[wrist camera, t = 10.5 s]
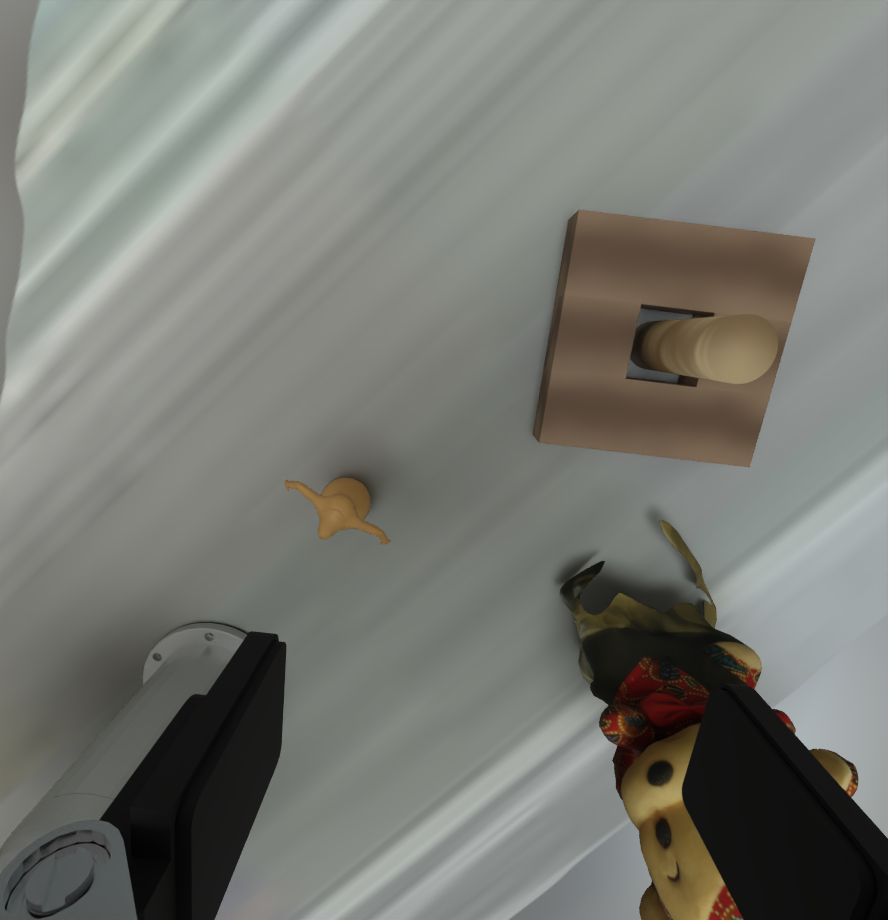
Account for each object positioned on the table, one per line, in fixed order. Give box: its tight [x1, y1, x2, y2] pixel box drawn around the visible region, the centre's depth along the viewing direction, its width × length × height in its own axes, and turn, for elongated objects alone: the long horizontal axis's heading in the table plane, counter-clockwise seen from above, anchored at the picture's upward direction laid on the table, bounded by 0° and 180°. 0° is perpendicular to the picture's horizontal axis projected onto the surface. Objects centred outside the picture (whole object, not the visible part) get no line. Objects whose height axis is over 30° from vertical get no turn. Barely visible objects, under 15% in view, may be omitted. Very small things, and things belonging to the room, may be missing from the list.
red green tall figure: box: [560, 520, 858, 920], centre depth 31 cm, size 15×17×25 cm
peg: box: [630, 314, 778, 384], centre depth 31 cm, size 4×4×12 cm
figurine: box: [285, 478, 391, 545], centre depth 34 cm, size 8×6×12 cm
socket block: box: [533, 210, 815, 467], centre depth 35 cm, size 16×16×3 cm
